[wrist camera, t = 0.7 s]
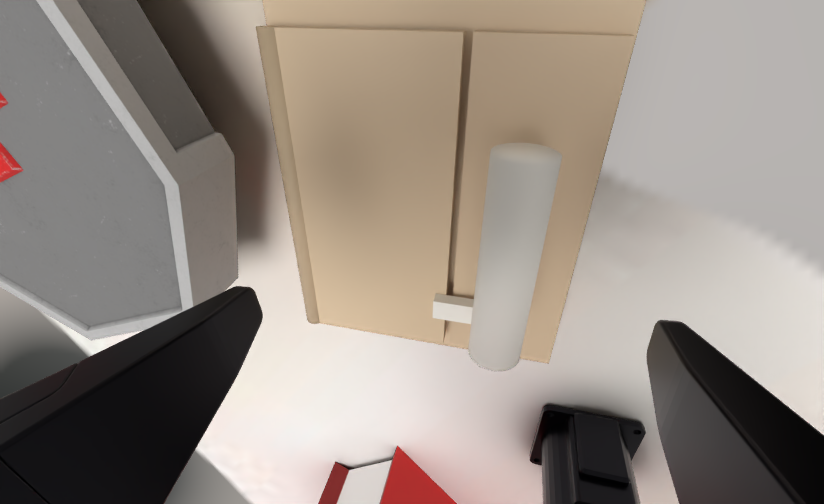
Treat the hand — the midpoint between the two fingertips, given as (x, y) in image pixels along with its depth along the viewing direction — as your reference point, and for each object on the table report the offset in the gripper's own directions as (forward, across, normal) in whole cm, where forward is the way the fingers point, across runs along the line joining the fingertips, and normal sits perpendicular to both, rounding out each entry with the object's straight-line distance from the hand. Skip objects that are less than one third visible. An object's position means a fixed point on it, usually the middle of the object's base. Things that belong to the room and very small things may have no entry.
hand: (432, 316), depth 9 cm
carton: (+13, +2, +2) cm, 13 cm away
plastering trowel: (+9, +3, +2) cm, 10 cm away
